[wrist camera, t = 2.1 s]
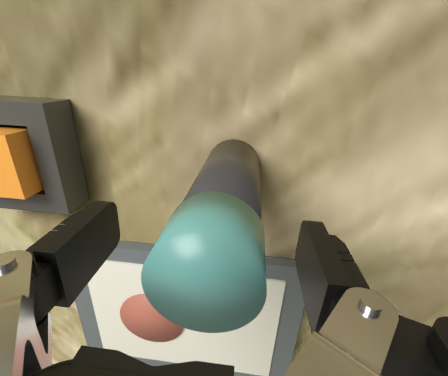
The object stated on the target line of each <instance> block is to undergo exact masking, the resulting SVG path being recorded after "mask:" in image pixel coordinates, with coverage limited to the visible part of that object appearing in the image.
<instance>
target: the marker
mask: <svg viewBox="0 0 448 376" xmlns="http://www.w3.org/2000/svg"><path fill="white" fill-rule="evenodd" d="M141 283H142V288H143V291H144V294H145V296H146V297H147V299H148V301H149V302H150V304H151V305H152V306H153V307H154V309H155V310H156V311H157V312H159V313H160V314H161V315H162V316H163V317H165V318H166V319H167V320H169V321H171V322H173V323H174V324H176V325H179V326H181V327H183V328H186V329H189V330H193V331H198V332H204V333H222V332H228V331H233V330H236V329H239V328H241V327H243V326H245V325H247V324H248V323H250V322H251V321H253V320H254V319H255V318H256V317H257V316H258V315H259V313H260V312H261V310H262V309H263V307H264V304H265V301H266V296H267V284H266V263H265V242H264V229H263V225H262V222H261V197H260V165H259V158H258V155H257V153H256V151H255V150H254V149H253V148H252V147H251V146H250V145H249V144H247V143H245V142H243V141H240V140H226V141H223V142H221V143H219V144H218V145H217V146H216V147H215V148H214V149H213V150H212V151H211V153H210V155H209V157H208V158H207V160H206V162H205V164H204V165H203V167H202V169H201V171H200V172H199V174H198V176H197V178H196V179H195V181H194V183H193V185H192V186H191V188H190V190H189V192H188V193H187V195H186V197H185V199H184V200H183V202H182V203H181V204H180V205H179V206H178V207H177V208H176V210H175V211H174V213H173V215H172V216H171V218H170V220H169V221H168V223H167V225H166V226H165V228H164V230H163V231H162V233H161V235H160V237H159V238H158V240H157V242H156V243H155V245H154V247H153V248H152V250H151V252H150V253H149V255H148V257H147V259H146V260H145V262H144V264H143V268H142V272H141Z"/></svg>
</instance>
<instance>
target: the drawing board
mask: <svg viewBox="0 0 448 376" xmlns="http://www.w3.org/2000/svg"><path fill="white" fill-rule="evenodd" d="M154 245H155V244H146V243H136V242H127V241H119V243H118V245H117V247H116V248H115V249H114V251H113V252H112V253H111V255H110V256H109V257H108V258H107V260H106V261H105V262H104V263H103V265H102V266H101V267H100V269H99V270H98V271H97V272H96V274H95V275H94V276H93V278H92V279H91V280H90V281H89V283H88V284H87V285H86V286H85V288H84V289H83V290H82V292H81V293H80V294H79V295H78V297H77V298H76V299H75V302H76V306H77V309H78V313H79V317H80V320H81V324H82V327H83V331H84V335H85V338H86V342H87V345H88V346H89V347H97V348H104V349H112V350H118V351H120V352H123V353H125V354H127V355H129V356H131V357H133V358H135V359H138V360H140V361H142V362H144V363H146V364H148V365H151V366H161V365H168V364H175V363H183V362H190V361H201V362H209V363H216V364H224V365H231V366H234V376H283V375H284V373H285V372H286V370H287V369H288V367H289V366H290V364H291V362H292V357H293V353H294V349H295V345H296V340H297V336H298V332H299V328H300V324H301V319H302V315H303V311H304V307H305V303H304V299H303V295H302V290H301V286H300V282H299V278H298V273H297V269H296V263H295V259H286V258H277V257H268V256H265V263H266V284H267V296H266V301H265V304H264V307H263V309H262V310H261V312H260V313H259V315H258V316H257V317H256V318H255V319H254V320H253V321H251V322H250V323H248V324H247V325H245V326H243V327H241V328H239V329H236V330H233V331H228V332H222V333H204V332H198V331H193V330H189V329H186V328H183V327H181V326H179V325H176V324H174V323H173V322H171V321H169V320H167V319H166V318H165V317H163V316H162V315H161V314H160V313H159V312H157V311H156V310H155V309H154V307H153V306H152V305H151V304H150V302H149V301H148V299H147V297H146V296H145V294H144V291H143V288H142V283H141V272H142V268H143V264H144V262H145V260H146V259H147V257H148V255H149V253H150V252H151V250H152V248H153V247H154Z"/></svg>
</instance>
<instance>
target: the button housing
mask: <svg viewBox="0 0 448 376" xmlns="http://www.w3.org/2000/svg"><path fill="white" fill-rule="evenodd" d="M0 127H13V128H27V130H28V134H29V137H30V141H31V144H32V148H33V152H34V155H35V159H36V162H37V166H38V170H39V173H40V177H41V181H42V184H43V188H44V189H43V190H41V191H40V192H38V193H36V194H34V195H32V196H31V197H29V198H27V199H25V200H24V199H14V198H3V197H0V208H7V209H18V210H28V211H38V212H48V213H58V214H68V215H69V214H70V213H72V212H73V211H74V210H76V209H77V208H78V207H80V206H81V205H82V204H84V203H85V202H86V201H88V200H89V194H88V189H87V184H86V179H85V174H84V169H83V164H82V159H81V154H80V149H79V144H78V139H77V134H76V129H75V124H74V119H73V114H72V109H71V104H70V99H52V98H34V97H17V96H0Z"/></svg>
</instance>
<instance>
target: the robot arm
mask: <svg viewBox="0 0 448 376" xmlns="http://www.w3.org/2000/svg"><path fill="white" fill-rule="evenodd" d="M119 239H120V229H119V222H118V214H117V207H116V204H115V203H114V202H106V201H94V202H93V203H91V204H90V205H89V206H88V207H86V208H85V209H84V210H83V211H80V212H78V213H75V214H73V215H71V216H69V217H68V218H66V219H65V220H64V221H63V222H61V223H60V225H57V226H56V227H55V228H54V229H53V231H50V232H48V233H47V234H46V235H45V236H43V237H42V238H41V239H39V240H38V241H37V242H36V243H34V244H33V245H32V246H30V247H29V248H28V249H27V250H25V251H21V250H17V251H10V252H6V253H2V254H0V376H234V366H231V365H224V364H216V363H209V362H201V361H190V362H183V363H175V364H168V365H161V366H151V365H148V364H146V363H144V362H142V361H140V360H138V359H135V358H133V357H131V356H129V355H127V354H125V353H123V352H120V351H118V350H112V349H104V348H97V347H89V346H81V347H80V349H79V350H78V352H77V354H76V355H75V357H74V358H73V359H71V360H67V361H63V362H59V363H56V364H53V365H52V323H51V314H50V310H51V309H52V308H53V307H54V306H61V307H70V306H71V304H72V303H73V302H74V300H75V299H76V298H77V297H78V295H79V294H80V293H81V292H82V290H83V289H84V288H85V286H86V285H87V284H88V283H89V281H90V280H91V279H92V278H93V276H94V275H95V274H96V272H97V271H98V270H99V269H100V267H101V266H102V265H103V263H104V262H105V261H106V260H107V258H108V257H109V256H110V255H111V253H112V252H113V251H114V249H115V248H116V247H117V245H118V243H119ZM295 263H296V269H297V273H298V278H299V282H300V286H301V290H302V295H303V299H304V303H305V308H306V312H307V316H308V321H309V325H310V329H311V333H312V334H311V335H310V336H309V338H308V339H307V341H306V342H305V344H304V345H303V347H302V348H301V350H300V351H299V353H298V354H297V355H296V357H295V358H294V360H293V361H292V363H291V364H290V366H289V367H288V369H287V370H286V372H285V373H284V375H283V376H448V317H440V318H438V319H437V320H436V321H435V323H434V324H433V326H432V327H430V326H428V325H425V324H422V323H419V322H416V321H413V320H410V319H408V318H405V317H402V316H400V315H398V313H397V310H396V309H395V307H394V306H393V305H392V304H391V303H390V302H389V301H388V300H387V299H386V298H385V297H383V296H382V295H380V294H378V293H377V292H375V291H372V290H370V288H369V286H368V284H367V282H366V281H365V279H364V277H363V275H362V273H361V272H360V270H359V268H358V266H357V264H356V263H354V259H353V257H352V255H350V252H349V250H348V248H347V246H346V245H345V243H344V242H342V241H341V240H340V239H339V238H338V237H337V236H335V235H329V234H328V232H327V230H326V228H325V226H324V224H323V222H316V221H305V220H304V221H303V222H302V224H301V229H300V234H299V239H298V244H297V248H296V255H295Z"/></svg>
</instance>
